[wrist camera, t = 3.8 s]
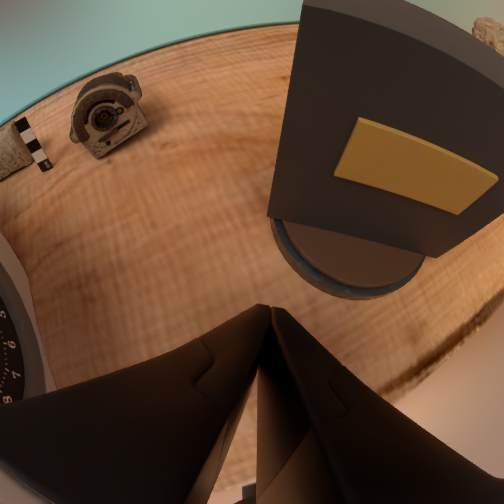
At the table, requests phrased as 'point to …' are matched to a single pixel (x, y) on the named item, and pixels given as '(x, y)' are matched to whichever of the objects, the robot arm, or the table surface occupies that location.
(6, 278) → the alarm clock
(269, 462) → the robot arm
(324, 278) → the turntable base
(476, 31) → the rock
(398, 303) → the table surface
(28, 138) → the cuneiform tablet
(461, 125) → the dark upright block
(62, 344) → the table surface
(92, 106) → the mechanical counter
